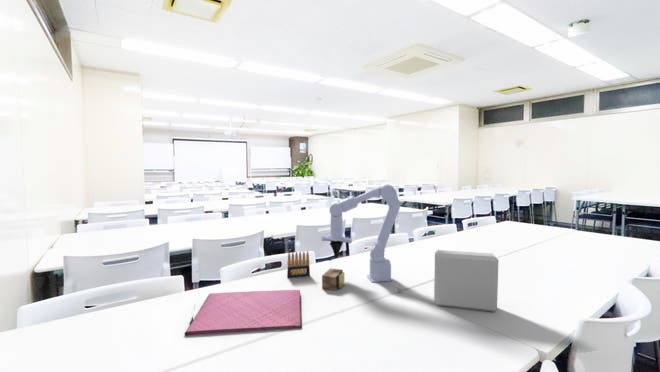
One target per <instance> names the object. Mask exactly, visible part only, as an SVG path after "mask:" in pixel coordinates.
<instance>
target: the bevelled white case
mask: <svg viewBox="0 0 660 372" xmlns="http://www.w3.org/2000/svg"><path fill="white" fill-rule="evenodd" d="M433 283H434V285H433V287H434V289H433V290H434V292H433V293H434V295H433V297H434V303H435V304H436V306H439V307H449V308H458V309H467V310H477V311H482V312H483V311H484V312H495V311H496V310H497V309H498V293H499V292H498V287H499V285H498V284H499V259H498V258H497V257H496V256H495V255H494V254H493V253H492V252H491V253H490V252H489V253H487V252H473V251H455V250H441V249H438V250H436V251H435V252H434V282H433Z"/></svg>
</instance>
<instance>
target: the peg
mask: <svg viewBox="0 0 660 372" xmlns="http://www.w3.org/2000/svg"><path fill="white" fill-rule="evenodd" d="M344 285H345V272H342V273H341V274H340V275H339V288H342V287H343V286H344ZM339 288H338V289H339Z"/></svg>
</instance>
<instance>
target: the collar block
mask: <svg viewBox="0 0 660 372" xmlns="http://www.w3.org/2000/svg"><path fill="white" fill-rule="evenodd" d="M342 272H343V269H339V268H329V269H327V271H325V273H324V274H322V275H321V288H322V289H323V290H330V291H337V290H339V275H340V274H341V273H342Z"/></svg>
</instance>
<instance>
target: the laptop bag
mask: <svg viewBox="0 0 660 372" xmlns="http://www.w3.org/2000/svg"><path fill="white" fill-rule="evenodd" d="M301 298H302V297H301V291H300V289H281V290H278V289H277V290H255V291H252V290H251V291H231V292H216V293H215V292H213V293H212V292H211V293H209V294H208V295H207V296H206V298H205V300H204V302H203V304H202V305H201V306H200V309H199V310H198V312H197V314H195V317H194V316H191V318H190V321H189V323H188V327H187V329H186V330H185V332H184V336H196V335H197V336H198V335H205V334H206V335H207V334H216V333H219V334H221V333H231V332H241V331H243V332H244V331H256V330H257V331H259V330H274V329H291V328H300V329H302V328H303V325H302V321H303V320H302V301H301V300H302V299H301ZM195 307H196V305H194V306H193V308H194V309H193V310H195Z"/></svg>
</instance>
